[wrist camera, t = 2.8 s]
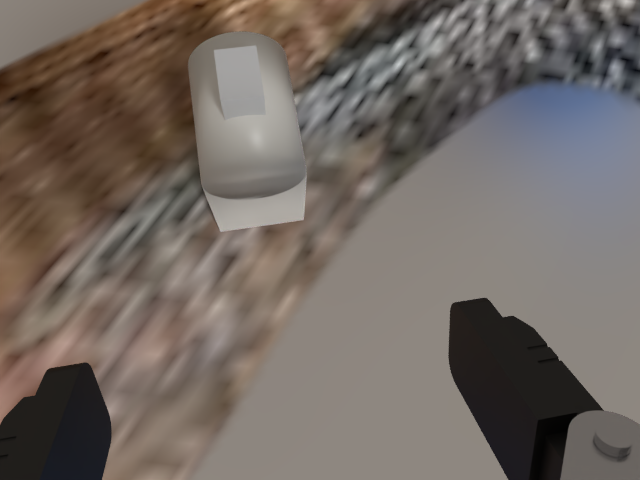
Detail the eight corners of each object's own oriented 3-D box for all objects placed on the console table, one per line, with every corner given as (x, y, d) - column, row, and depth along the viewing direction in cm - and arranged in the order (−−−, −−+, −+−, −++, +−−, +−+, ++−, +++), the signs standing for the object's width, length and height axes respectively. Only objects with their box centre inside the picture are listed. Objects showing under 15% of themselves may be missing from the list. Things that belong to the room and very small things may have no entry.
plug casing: (287, 126, 30) (286, 5, 21) (303, 220, 28) (309, 131, 19) (209, 136, 29) (172, 16, 20) (220, 231, 27) (185, 147, 19)
